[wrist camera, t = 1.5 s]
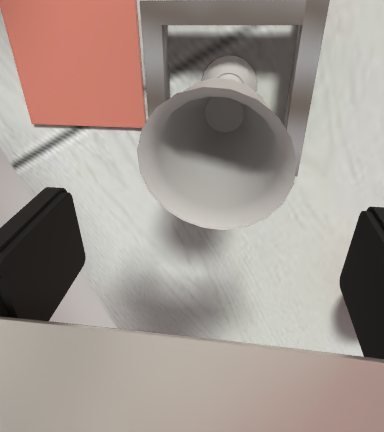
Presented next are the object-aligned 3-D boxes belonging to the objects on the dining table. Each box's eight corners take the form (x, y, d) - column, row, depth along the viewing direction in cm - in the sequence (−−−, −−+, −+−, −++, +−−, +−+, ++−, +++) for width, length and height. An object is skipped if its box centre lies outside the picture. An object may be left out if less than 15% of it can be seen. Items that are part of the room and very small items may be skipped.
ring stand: (154, 1, 27) (139, 0, 23) (316, -1, 26) (329, -1, 22) (162, 150, 34) (152, 169, 30) (290, 156, 33) (297, 176, 29)
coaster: (-3, -19, 28) (-7, -19, 27) (134, -21, 27) (132, -22, 26) (34, 122, 34) (31, 123, 34) (146, 126, 33) (145, 128, 33)
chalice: (285, 71, 29) (331, 143, 14) (243, 136, 32) (244, 251, 17) (212, 26, 28) (175, 51, 13) (177, 99, 31) (116, 187, 16)
